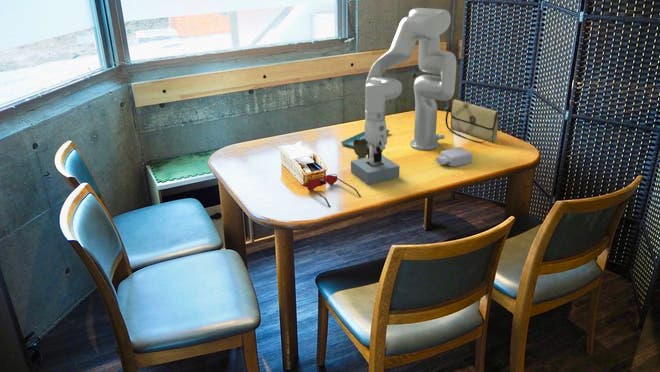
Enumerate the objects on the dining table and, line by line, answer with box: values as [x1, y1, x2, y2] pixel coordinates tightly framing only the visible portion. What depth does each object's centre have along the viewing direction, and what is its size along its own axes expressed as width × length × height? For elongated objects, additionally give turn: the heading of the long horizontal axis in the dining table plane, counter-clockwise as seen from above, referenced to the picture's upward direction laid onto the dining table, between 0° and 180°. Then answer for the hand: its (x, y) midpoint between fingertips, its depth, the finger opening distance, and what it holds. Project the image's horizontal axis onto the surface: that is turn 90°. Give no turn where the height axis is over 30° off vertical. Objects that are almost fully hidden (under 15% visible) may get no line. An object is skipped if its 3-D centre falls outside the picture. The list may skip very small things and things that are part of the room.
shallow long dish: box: [340, 128, 391, 149], centre depth 255 cm, size 26×9×2 cm, turn 139°
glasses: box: [305, 173, 362, 208], centre depth 202 cm, size 14×16×5 cm
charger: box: [433, 146, 473, 168], centre depth 226 cm, size 5×9×15 cm
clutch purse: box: [445, 98, 500, 144], centre depth 252 cm, size 30×7×15 cm, turn 35°
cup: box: [353, 138, 368, 159], centre depth 233 cm, size 8×7×8 cm
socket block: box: [350, 154, 401, 186], centre depth 217 cm, size 14×14×5 cm
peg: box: [369, 143, 380, 167], centre depth 214 cm, size 4×4×10 cm
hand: (374, 159), depth 215 cm, fingers closed on peg, 4 cm apart
